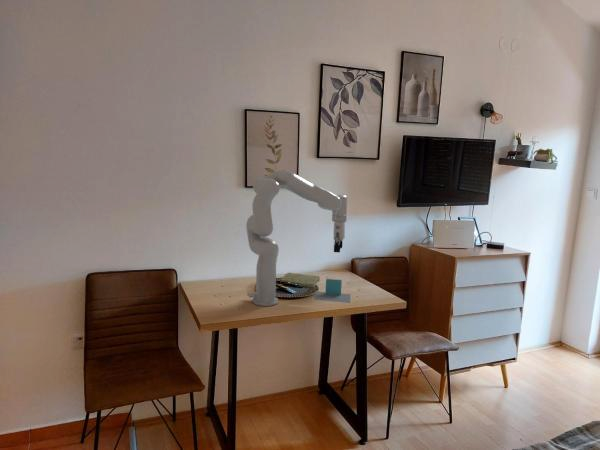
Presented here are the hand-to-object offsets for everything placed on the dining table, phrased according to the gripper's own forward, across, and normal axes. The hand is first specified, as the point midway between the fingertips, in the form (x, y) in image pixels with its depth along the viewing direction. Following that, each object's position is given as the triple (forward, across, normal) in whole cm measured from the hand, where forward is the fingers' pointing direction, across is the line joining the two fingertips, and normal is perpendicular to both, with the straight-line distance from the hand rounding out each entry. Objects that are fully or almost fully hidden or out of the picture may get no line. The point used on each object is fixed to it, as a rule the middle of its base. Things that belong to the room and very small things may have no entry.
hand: (338, 250), depth 229 cm
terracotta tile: (+21, -9, +1) cm, 23 cm away
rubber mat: (+22, -14, 0) cm, 26 cm away
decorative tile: (+23, +7, +22) cm, 32 cm away
